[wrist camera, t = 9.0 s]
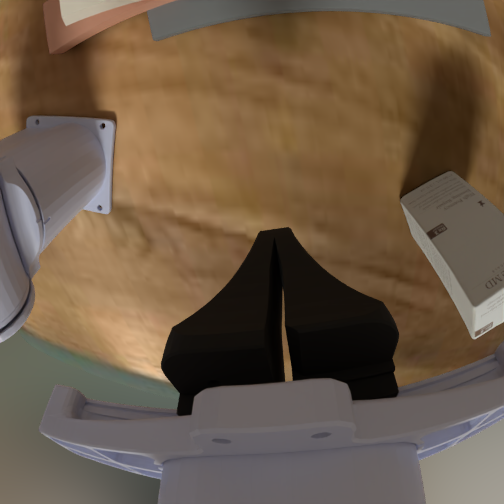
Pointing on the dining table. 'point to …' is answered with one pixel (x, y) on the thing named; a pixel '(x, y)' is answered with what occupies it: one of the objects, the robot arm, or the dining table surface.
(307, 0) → the domino board
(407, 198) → the skincare box
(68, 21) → the domino
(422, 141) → the dining table surface
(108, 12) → the end domino
